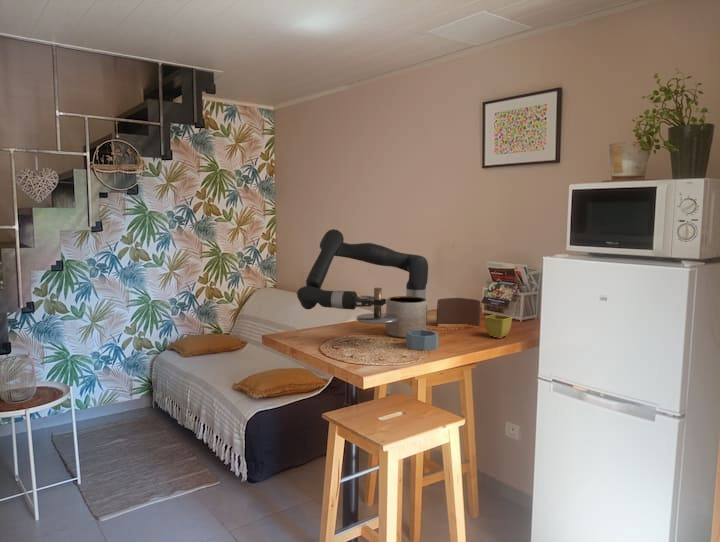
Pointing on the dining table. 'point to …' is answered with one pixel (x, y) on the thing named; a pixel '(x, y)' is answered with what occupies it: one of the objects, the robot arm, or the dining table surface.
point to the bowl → (422, 339)
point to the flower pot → (498, 325)
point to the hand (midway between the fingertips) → (384, 302)
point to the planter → (406, 315)
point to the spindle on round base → (377, 313)
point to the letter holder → (458, 311)
